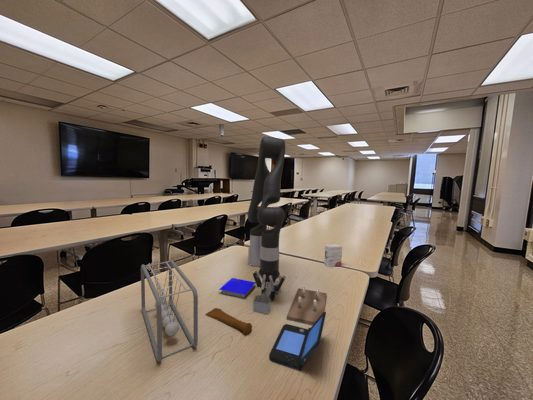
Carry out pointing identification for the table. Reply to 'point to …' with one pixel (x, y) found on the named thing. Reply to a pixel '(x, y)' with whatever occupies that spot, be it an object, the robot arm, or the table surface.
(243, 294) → the blue square pad
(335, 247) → the ink box
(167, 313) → the newton's cradle
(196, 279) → the table surface
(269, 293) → the grey stepped block
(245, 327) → the primitive tool
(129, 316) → the table surface
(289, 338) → the handheld game console
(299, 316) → the tool cradle
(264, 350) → the table surface
